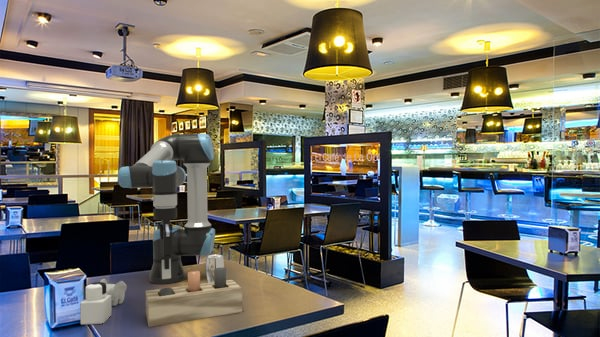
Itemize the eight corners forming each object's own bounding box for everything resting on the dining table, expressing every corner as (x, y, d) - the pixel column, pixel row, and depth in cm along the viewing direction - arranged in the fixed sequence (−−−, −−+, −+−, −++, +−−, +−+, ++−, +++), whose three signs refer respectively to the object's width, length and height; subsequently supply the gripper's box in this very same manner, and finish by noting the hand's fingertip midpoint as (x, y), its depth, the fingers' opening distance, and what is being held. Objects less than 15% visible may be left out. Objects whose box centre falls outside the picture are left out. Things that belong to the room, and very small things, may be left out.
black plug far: (213, 290, 143) (213, 268, 143) (224, 288, 144) (224, 266, 144) (215, 293, 139) (215, 270, 139) (227, 291, 141) (227, 269, 141)
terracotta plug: (187, 294, 139) (186, 271, 139) (198, 292, 141) (198, 269, 141) (189, 297, 135) (188, 273, 135) (201, 295, 137) (200, 272, 137)
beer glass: (220, 298, 154) (219, 258, 154) (202, 297, 155) (202, 257, 155) (227, 292, 161) (226, 254, 161) (210, 291, 162) (210, 254, 162)
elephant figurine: (86, 308, 144) (86, 283, 144) (113, 298, 155) (113, 275, 155) (106, 311, 141) (106, 286, 141) (132, 301, 152) (132, 277, 152)
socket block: (145, 314, 137) (145, 290, 137) (232, 301, 150) (232, 279, 150) (148, 327, 126) (148, 301, 126) (242, 311, 139) (241, 288, 139)
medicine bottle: (89, 316, 136) (89, 280, 136) (111, 315, 137) (111, 280, 137) (80, 324, 129) (79, 287, 129) (103, 323, 129) (102, 286, 129)
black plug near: (159, 312, 135) (159, 288, 135) (172, 310, 137) (171, 287, 137) (160, 316, 132) (160, 292, 132) (173, 314, 133) (173, 290, 133)
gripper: (151, 205, 139) (152, 274, 139) (155, 209, 127) (156, 285, 127) (174, 204, 142) (175, 271, 142) (179, 208, 130) (181, 281, 130)
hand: (166, 278), depth 135 cm, fingers closed
